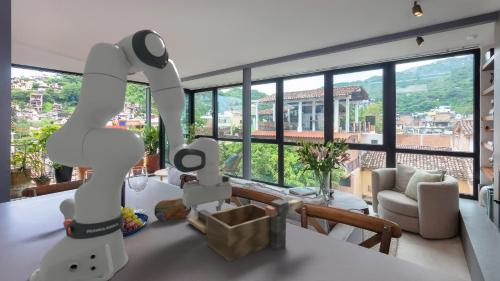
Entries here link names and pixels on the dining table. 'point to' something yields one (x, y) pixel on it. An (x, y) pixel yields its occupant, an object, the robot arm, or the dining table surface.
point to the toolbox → (246, 230)
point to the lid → (201, 220)
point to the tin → (171, 210)
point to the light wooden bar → (292, 206)
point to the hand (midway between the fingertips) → (208, 213)
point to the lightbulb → (68, 208)
